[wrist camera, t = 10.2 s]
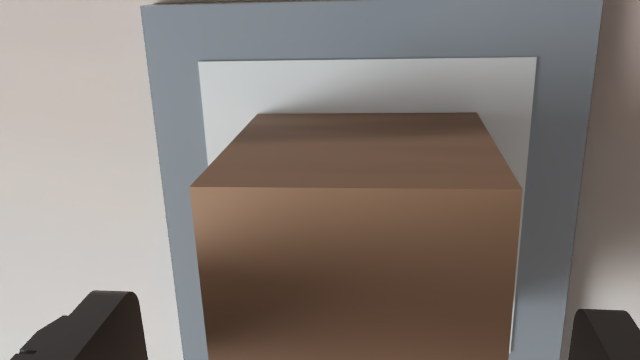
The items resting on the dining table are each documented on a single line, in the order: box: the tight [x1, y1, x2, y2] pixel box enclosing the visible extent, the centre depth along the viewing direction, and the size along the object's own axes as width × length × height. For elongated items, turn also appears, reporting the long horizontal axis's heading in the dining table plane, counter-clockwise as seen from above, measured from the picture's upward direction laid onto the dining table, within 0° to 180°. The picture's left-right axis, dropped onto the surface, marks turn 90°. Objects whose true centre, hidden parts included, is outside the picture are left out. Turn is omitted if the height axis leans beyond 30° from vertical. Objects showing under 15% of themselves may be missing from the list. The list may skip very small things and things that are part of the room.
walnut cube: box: [189, 112, 523, 360], centre depth 15 cm, size 6×6×6 cm
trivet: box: [140, 0, 603, 360], centre depth 18 cm, size 12×12×1 cm
